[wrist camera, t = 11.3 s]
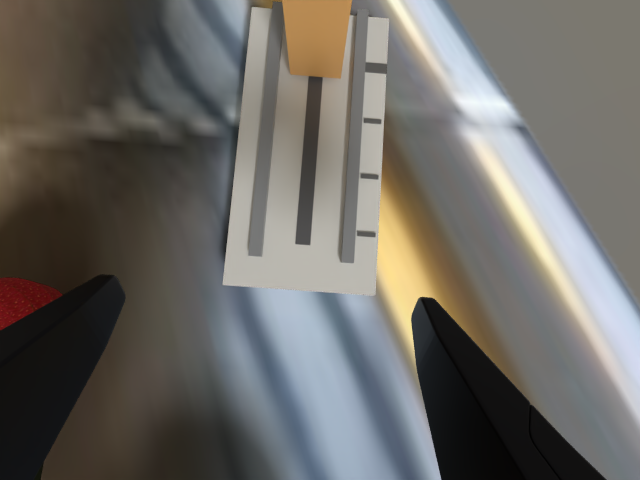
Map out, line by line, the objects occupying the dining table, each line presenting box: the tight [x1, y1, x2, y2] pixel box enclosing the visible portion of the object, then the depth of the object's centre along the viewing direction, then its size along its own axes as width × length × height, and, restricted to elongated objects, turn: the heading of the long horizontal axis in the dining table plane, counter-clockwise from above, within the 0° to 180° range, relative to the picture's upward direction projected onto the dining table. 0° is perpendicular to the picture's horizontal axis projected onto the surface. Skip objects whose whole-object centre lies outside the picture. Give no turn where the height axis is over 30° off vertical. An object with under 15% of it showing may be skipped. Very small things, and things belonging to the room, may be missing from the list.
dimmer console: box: [223, 2, 389, 296], centre depth 22 cm, size 20×10×3 cm, turn 176°
